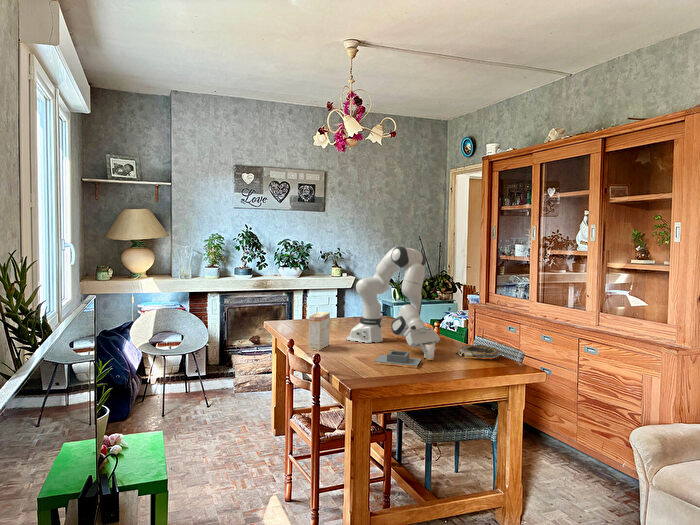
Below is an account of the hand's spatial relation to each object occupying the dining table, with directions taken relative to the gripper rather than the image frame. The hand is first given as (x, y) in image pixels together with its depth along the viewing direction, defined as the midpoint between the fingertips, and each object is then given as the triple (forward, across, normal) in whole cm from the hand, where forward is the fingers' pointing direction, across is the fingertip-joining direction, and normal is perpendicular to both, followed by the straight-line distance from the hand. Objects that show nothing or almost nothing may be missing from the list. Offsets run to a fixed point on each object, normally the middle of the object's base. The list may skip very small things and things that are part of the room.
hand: (430, 351), depth 274 cm
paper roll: (+3, 0, -4) cm, 5 cm away
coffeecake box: (-33, +38, -40) cm, 64 cm away
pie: (+10, -30, +2) cm, 32 cm away
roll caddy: (+1, +19, -6) cm, 20 cm away
